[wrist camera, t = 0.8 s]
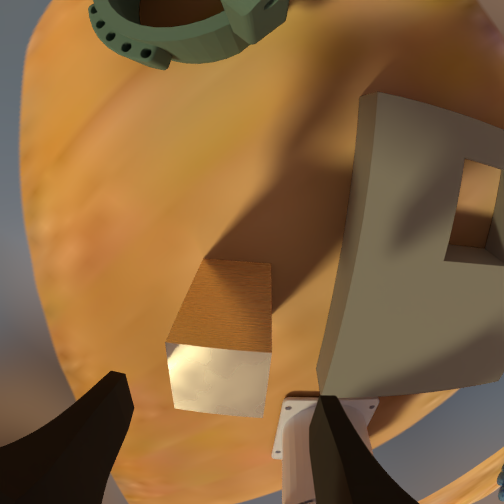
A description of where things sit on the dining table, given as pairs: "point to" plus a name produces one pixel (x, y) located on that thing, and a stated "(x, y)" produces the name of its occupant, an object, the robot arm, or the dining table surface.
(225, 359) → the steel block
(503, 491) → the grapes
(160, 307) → the dining table surface
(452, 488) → the dining table surface
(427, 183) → the well board
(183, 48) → the bracket
